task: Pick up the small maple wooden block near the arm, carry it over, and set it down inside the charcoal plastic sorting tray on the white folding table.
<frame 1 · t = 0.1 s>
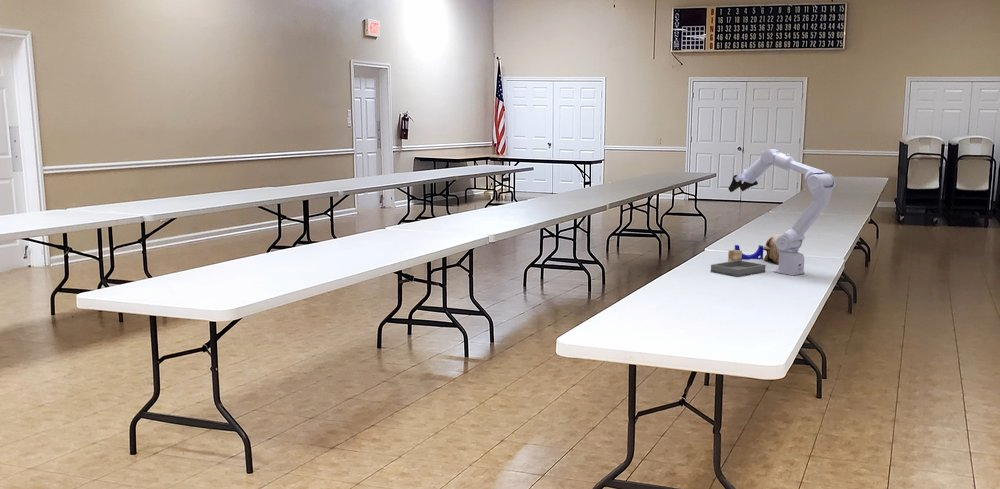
hand: (735, 189, 361), 32 cm above the table, tool tilted 50°, fingers open, 7 cm apart
cable clip: (748, 259, 376), on the table
coin bank: (779, 262, 369), on the table
maple block: (734, 264, 363), on the table
sorting tray: (738, 271, 346), on the table
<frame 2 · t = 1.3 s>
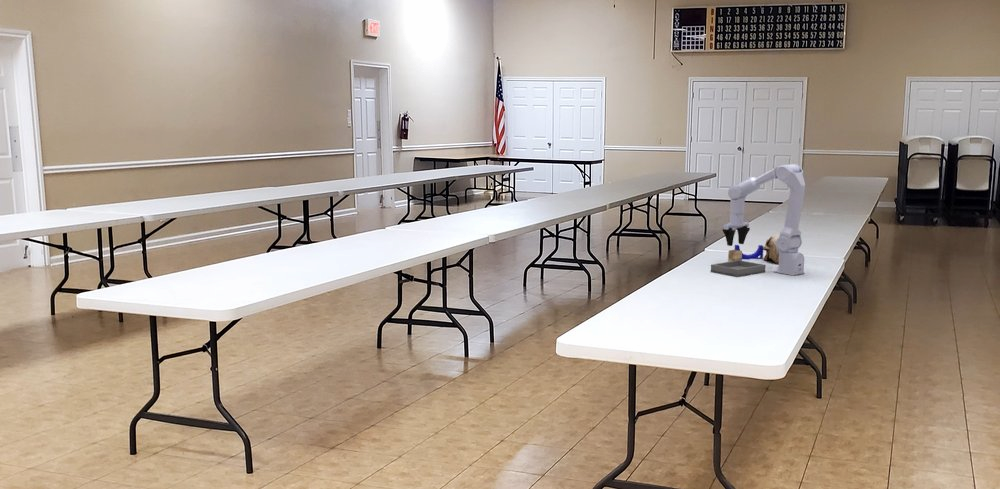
hand: (735, 244, 361), 9 cm above the table, tool pointing down, fingers open, 7 cm apart
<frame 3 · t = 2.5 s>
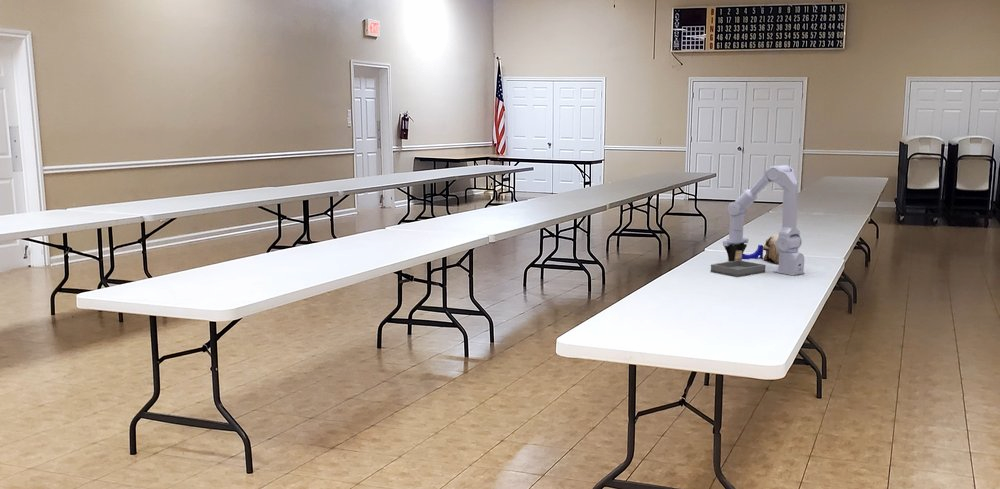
hand: (734, 261, 363), 1 cm above the table, tool pointing down, fingers closed on maple block, 4 cm apart
maple block: (734, 264, 363), on the table, touching gripper
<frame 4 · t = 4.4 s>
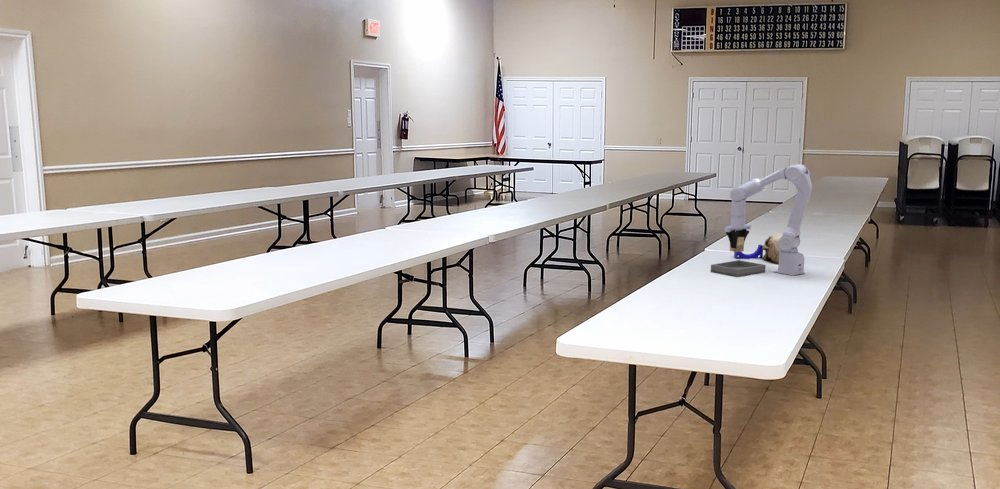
hand: (736, 247, 355), 8 cm above the table, tool pointing down, fingers closed on maple block, 4 cm apart
maple block: (736, 251, 356), point 7 cm above the table, touching gripper
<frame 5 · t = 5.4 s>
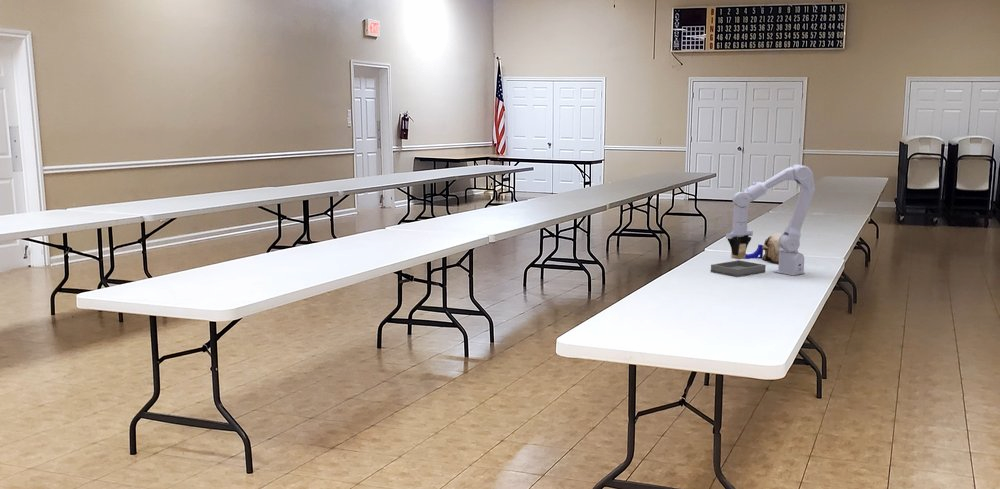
hand: (738, 254, 344), 7 cm above the table, tool pointing down, fingers closed on maple block, 4 cm apart
maple block: (738, 258, 345), point 6 cm above the table, touching gripper
when the fingers open (4 cm above the table, at t = 6.4 s): maple block drops 1 cm, resting on sorting tray.
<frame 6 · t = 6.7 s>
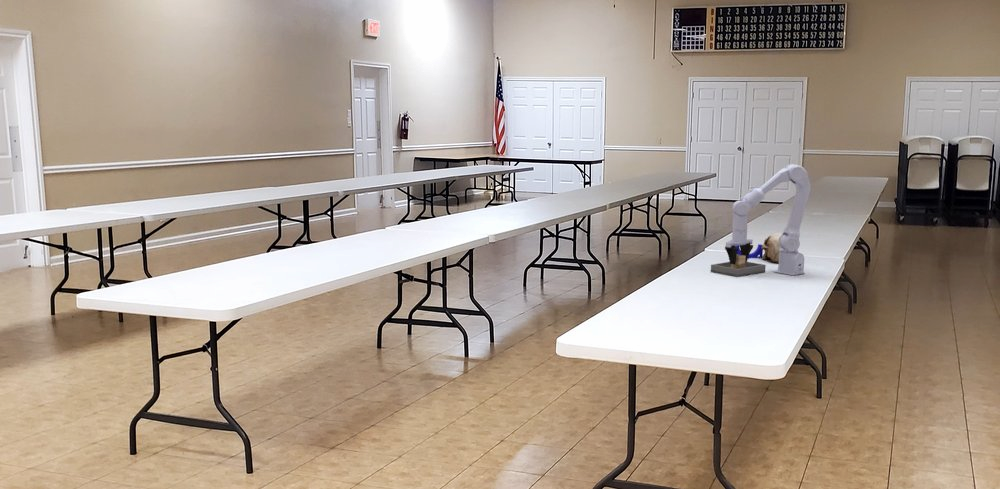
hand: (738, 263, 345), 4 cm above the table, tool pointing down, fingers open, 7 cm apart
maple block: (737, 269, 346), point 1 cm above the table, touching sorting tray
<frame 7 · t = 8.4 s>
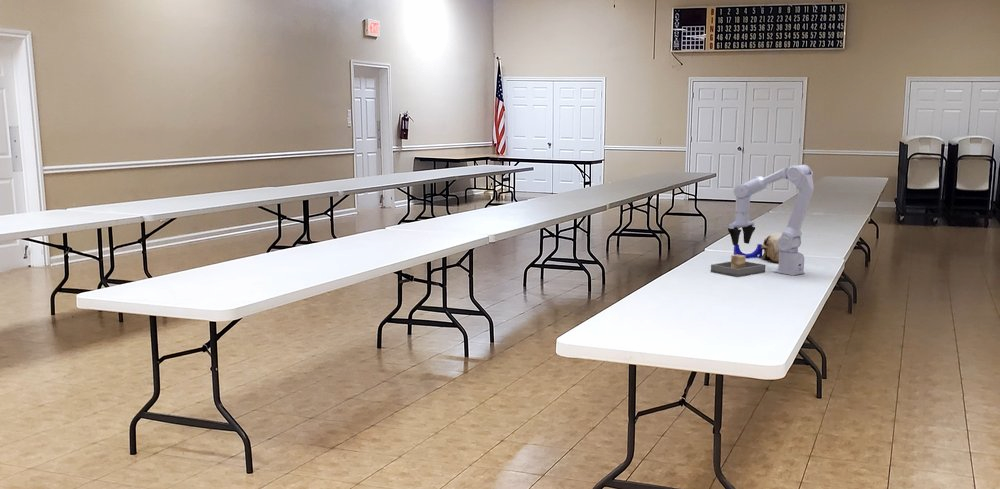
hand: (740, 244, 357), 9 cm above the table, tool pointing down, fingers open, 7 cm apart
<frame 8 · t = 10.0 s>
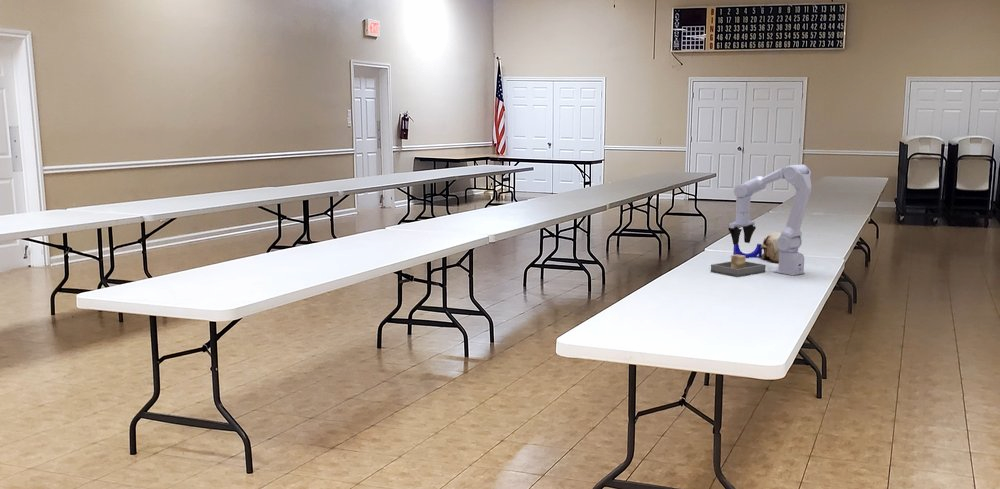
hand: (741, 243, 359), 9 cm above the table, tool pointing down, fingers open, 7 cm apart
at the end: maple block inside the target area on the sorting tray (0.1 cm from its centre), point 0.8 cm above the sorting tray's base; the gripper is holding nothing; maple block tilted 0° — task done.
